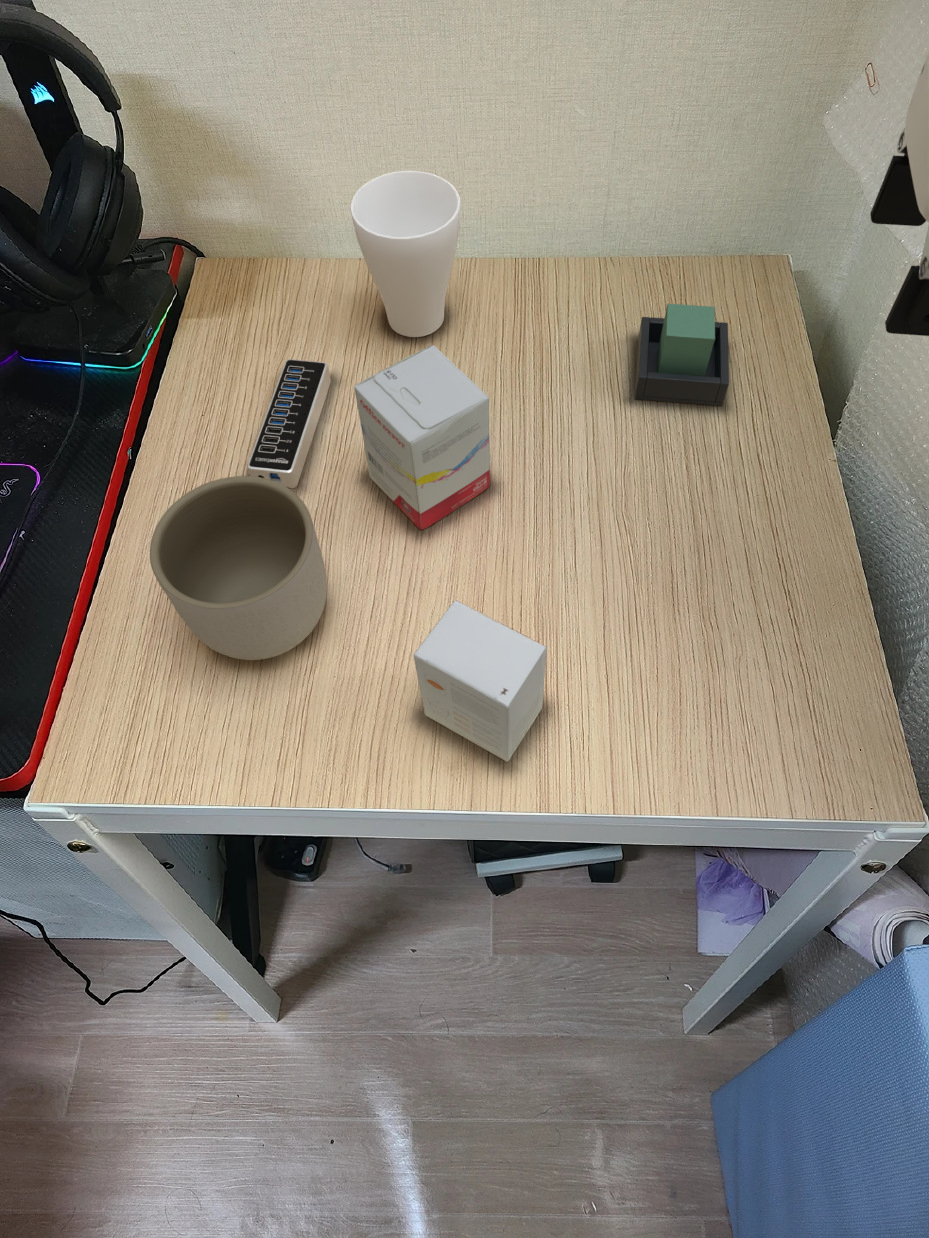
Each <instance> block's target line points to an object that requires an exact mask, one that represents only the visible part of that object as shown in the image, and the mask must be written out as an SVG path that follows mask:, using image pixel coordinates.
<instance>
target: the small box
mask: <svg viewBox="0 0 929 1238" xmlns="http://www.w3.org/2000/svg"><path fill="white" fill-rule="evenodd" d="M413 660H414V664H415V670H416V671H415V672H416V676H417V681H418V686H419V687H418V688H419V692H420V698H421V701H422V707H423V713H424V715H425V717H427V718H429V719H431V720H433V721H435V722H436V723H438V724H440V725H442V726H443V727H445V728H447V729H448V730H449V731H452V732H454V733H456V734H457V735H459V736H461V737H462V738H464V739H466V740H467V741H469V742H471V743H473V744H475V745H477V746H478V747H480V748H482V749H484V750H486V751H488V752H489V753H491V754H492V755H494V756H496V757H498V758H500V759H501V760H503V761H505V762H506V763H507V762H509V761H510V759H511V758H512V756H513V755H514V753H515V752H516V750H517V749H518V747H519V746H520V744H521V743H522V741H523V739H524V738H525V736H526V734H527V733H528V732H529V730H530V728H531V727H532V726H533V724H534V722H535V721H536V719H537V717H538V716H539V714H540V712H541V711H542V709H543V704H544V703H543V702H544V688H545V677H546V665H547V646H546V645H545V644H542V643H540V642H538V641H536V640H535V639H534V638H533V639H532V638H530V637H528V636H527V635H525V634H523V633H521V632H519V631H517V630H515V629H513V628H512V627H509V626H507V625H505V624H503V623H501V622H499V621H497V620H496V619H494V618H492V617H490V616H488V615H486V614H484V613H482V612H480V611H478V610H476V609H474V608H472V607H471V606H468V605H466V604H464V603H462V602H461V601H459V600H458V599H454V601H452V603H451V604H450V605H449V607H448V608H447V609H446V611H445V612H444V613H443V614H442V616H441V617H440V619H439V620H438V621H437V623H436V624H435V626H433V628H432V629H431V630H430V632H429V633H428V635H427V636H426V637H425V638H424V640H423V641H422V642H421V644H420V645H419V647H418V648H417V649H416V651H415V652H414V653H413Z"/></svg>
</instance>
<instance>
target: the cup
mask: <svg viewBox="0 0 929 1238" xmlns="http://www.w3.org/2000/svg"><path fill="white" fill-rule="evenodd" d="M461 207H462V200H461V197H460V194H459V191H458V190H457V189H456V188H455V186H454V185H453V184H452V183H451V182H449V181H448V180H446V179H445V178H443V177H441V176H439V175H437V174H434V173H431V172H426V171H420V170H399V171H393V172H388V173H385V174H381V175H378V176H376V177H374V178H372V179H370V180H368V181H367V182H365V183H364V184H363V185H362V186H361V187H359V188H358V189H357V190H356V191H355V194H354V195H353V196H352V198H351V201H350V206H349V210H350V211H349V212H350V215H351V219H352V224H353V228H354V232H355V236H356V240H357V243H358V246H359V249H360V251H361V254H362V256H363V259H364V261H365V262H364V263H365V264H366V266H367V269H368V271H369V273H370V275H371V277H372V279H373V282H374V283H375V285H376V288H377V290H378V293H379V295H380V298H381V300H382V303H383V306H384V309H385V313H386V317H387V320H388V321H387V322H388V325H389V327H390V328H391V330H393V331H394V332H395V333H397V334H399V335H401V336H403V337H407V338H419V337H420V338H421V337H425V336H428V335H431V334H433V333H434V332H436V331H438V329H440V328H441V326H442V325H443V322H444V320H445V306H446V296H447V290H448V287H449V286H448V285H449V281H450V276H451V273H452V269H453V266H454V263H455V257H456V252H457V246H458V245H457V244H458V241H459V233H460V226H461V209H462V208H461Z"/></svg>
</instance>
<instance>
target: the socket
mask: <svg viewBox="0 0 929 1238" xmlns="http://www.w3.org/2000/svg"><path fill="white" fill-rule="evenodd" d="M664 318H665V317H649V316H641V321H640V325H639V332H638V336H637V348H636V350H637V351H636V364H635V365H636V366H635V386H634V400H639V401H640V400H642V401H651V402H653V401H654V402H667V403H680V404H690V405H691V404H692V405H705V406H715V407H716V406H717V407H722V406H723V405H724V402H725V398H726V394H727V392H728V389H729V385H730V366H729V364H730V362H729V361H730V359H729V358H730V357H729V323H728V322H723V321H721V322H720V321H715V341H714V344H713V348H712V351H711V355H710V358H709V362H708V366H707V369H706V373H705V376H692V375H679V374H666V373H657V354H658V347H659V342H660V337H661V333H662V328H663V323H664Z"/></svg>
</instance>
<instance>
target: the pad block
mask: <svg viewBox="0 0 929 1238" xmlns="http://www.w3.org/2000/svg"><path fill="white" fill-rule="evenodd" d="M715 308H716V307H715V306H709V305H708V306H707V305H696V304H695V305H693V304H679V303H667V304H666V308H665V309H666V310H665V314H664V317H663V318H664V323H663V328H662V333H661V337H660V342H659V347H658V354H657V373H666V374H679V375H692V376H705V373H706V369H707V366H708V362H709V358H710V355H711V351H712V348H713V344H714V341H715V322H716V309H715Z"/></svg>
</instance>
